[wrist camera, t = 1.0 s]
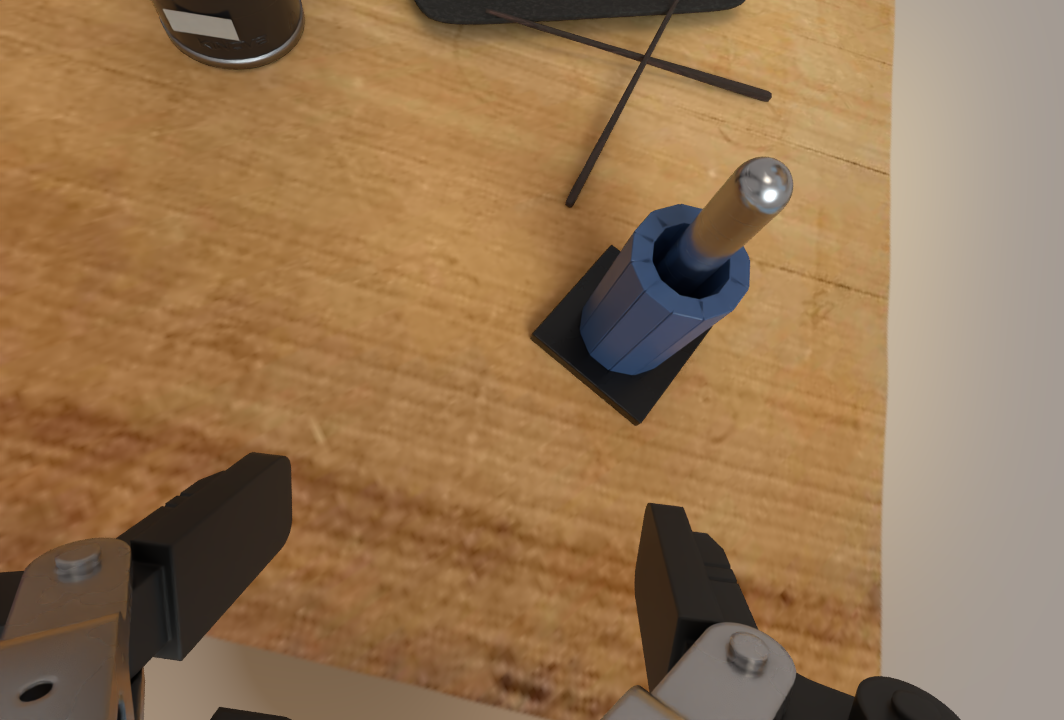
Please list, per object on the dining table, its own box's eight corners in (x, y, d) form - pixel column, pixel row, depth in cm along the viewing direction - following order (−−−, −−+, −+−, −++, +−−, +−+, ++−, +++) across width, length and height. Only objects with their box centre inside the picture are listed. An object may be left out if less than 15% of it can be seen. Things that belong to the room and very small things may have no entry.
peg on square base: (529, 338, 36) (614, 167, 19) (607, 250, 39) (741, 35, 22) (635, 426, 36) (820, 331, 19) (706, 330, 39) (921, 172, 22)
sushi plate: (694, -96, 52) (714, -143, 49) (814, 174, 45) (847, 143, 41) (383, -95, 45) (379, -149, 42) (463, 223, 38) (467, 191, 34)
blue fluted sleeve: (561, 332, 36) (607, 261, 26) (616, 269, 38) (676, 183, 29) (636, 393, 36) (709, 343, 26) (686, 326, 38) (771, 258, 28)
